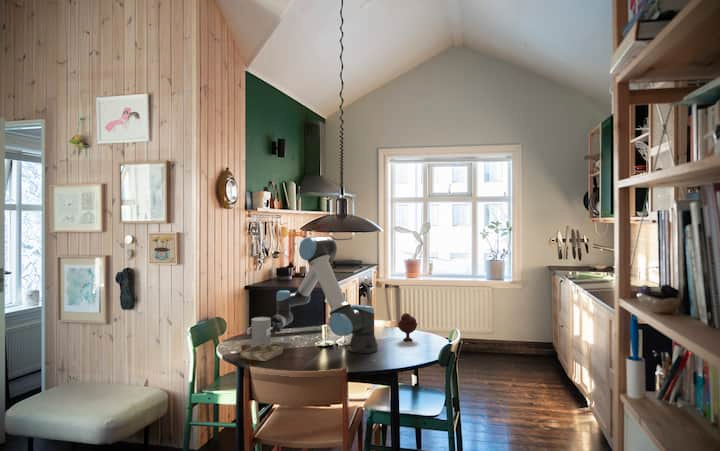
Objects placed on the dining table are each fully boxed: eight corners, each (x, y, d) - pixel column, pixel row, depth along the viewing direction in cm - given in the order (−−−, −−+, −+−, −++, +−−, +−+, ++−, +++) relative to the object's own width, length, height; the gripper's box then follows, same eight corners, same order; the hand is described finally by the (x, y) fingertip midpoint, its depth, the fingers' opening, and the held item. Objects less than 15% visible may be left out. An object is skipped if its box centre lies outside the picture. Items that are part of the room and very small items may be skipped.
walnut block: (251, 350, 253) (251, 343, 253) (248, 352, 249) (248, 345, 249) (243, 350, 253) (243, 343, 253) (241, 352, 249) (241, 345, 249)
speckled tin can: (266, 346, 238) (266, 321, 238) (248, 345, 240) (248, 320, 240) (273, 341, 247) (273, 317, 247) (256, 340, 249) (256, 316, 249)
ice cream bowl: (396, 342, 266) (396, 315, 266) (400, 337, 277) (399, 311, 277) (416, 343, 263) (415, 315, 263) (418, 338, 274) (418, 312, 274)
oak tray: (282, 353, 247) (282, 347, 247) (265, 361, 233) (265, 355, 233) (258, 350, 253) (258, 344, 253) (240, 357, 240) (240, 351, 240)
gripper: (295, 330, 258) (277, 341, 236) (257, 328, 264) (237, 338, 242) (295, 316, 258) (277, 325, 236) (257, 314, 264) (236, 323, 242)
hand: (257, 332), depth 239 cm, fingers closed on speckled tin can, 9 cm apart
